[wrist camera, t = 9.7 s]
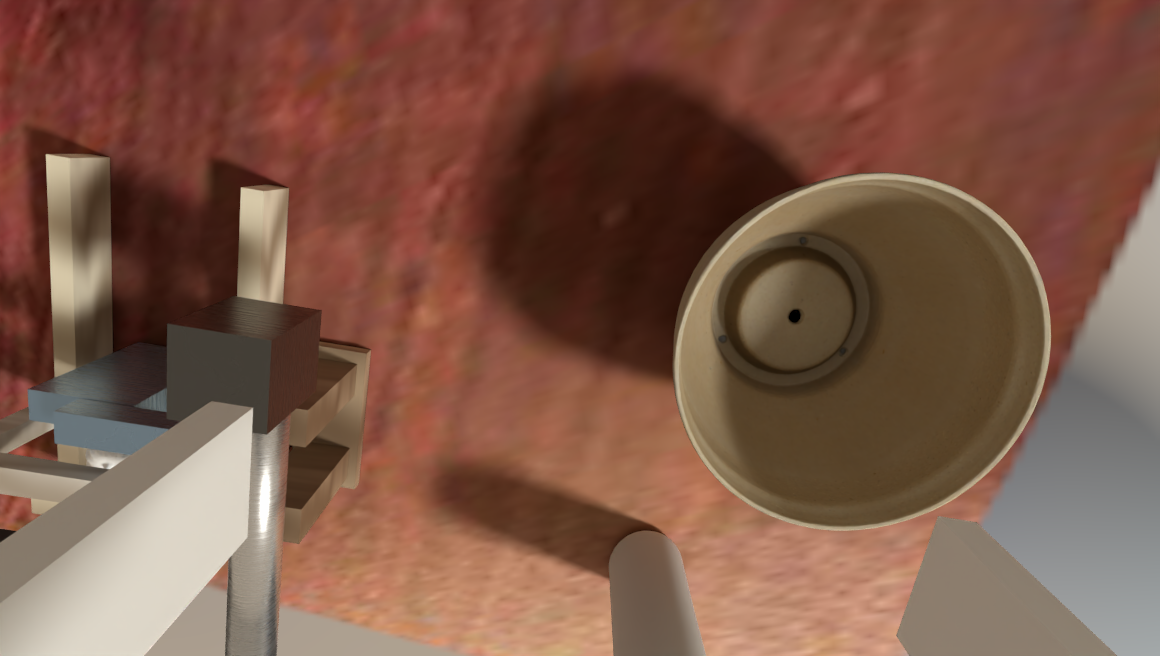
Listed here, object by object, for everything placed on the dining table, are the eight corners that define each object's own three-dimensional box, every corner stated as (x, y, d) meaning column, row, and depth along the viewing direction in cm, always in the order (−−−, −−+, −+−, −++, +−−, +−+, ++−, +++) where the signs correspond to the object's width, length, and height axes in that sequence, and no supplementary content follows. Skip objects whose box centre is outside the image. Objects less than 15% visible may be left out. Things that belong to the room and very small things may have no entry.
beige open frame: (73, 151, 37) (-111, 151, 27) (303, 190, 37) (203, 204, 27) (83, 469, 42) (-70, 565, 32) (284, 500, 42) (195, 604, 33)
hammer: (137, 238, 37) (-86, 282, 25) (374, 278, 38) (271, 340, 25) (139, 557, 43) (-44, 724, 30) (346, 588, 43) (250, 765, 31)
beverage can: (609, 590, 44) (618, 748, 32) (606, 526, 43) (615, 666, 31) (681, 588, 44) (716, 745, 32) (681, 524, 43) (717, 663, 31)
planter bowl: (946, 171, 37) (1091, 179, 26) (901, 437, 41) (1010, 536, 30) (659, 162, 37) (688, 166, 26) (643, 429, 41) (663, 525, 30)
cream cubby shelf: (304, 338, 40) (236, 384, 32) (370, 349, 40) (319, 397, 32) (295, 473, 42) (230, 546, 34) (358, 482, 42) (307, 557, 34)
